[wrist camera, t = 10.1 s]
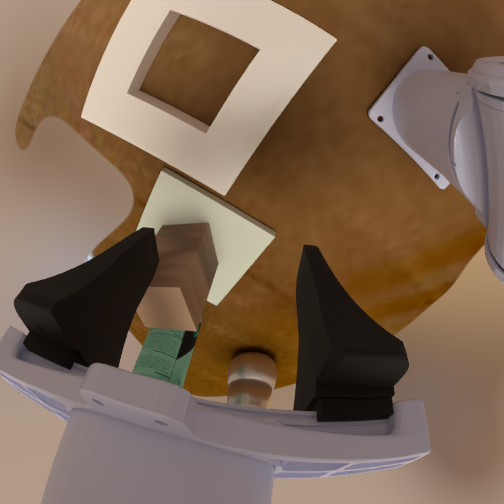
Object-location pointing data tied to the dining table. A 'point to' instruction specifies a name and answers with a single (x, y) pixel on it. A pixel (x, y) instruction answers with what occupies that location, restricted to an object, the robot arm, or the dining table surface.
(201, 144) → the socket board
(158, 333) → the spray can
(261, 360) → the plastic bottle
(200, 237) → the walnut block
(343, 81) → the dining table surface
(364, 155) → the dining table surface
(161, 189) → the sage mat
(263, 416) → the robot arm
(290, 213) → the dining table surface
